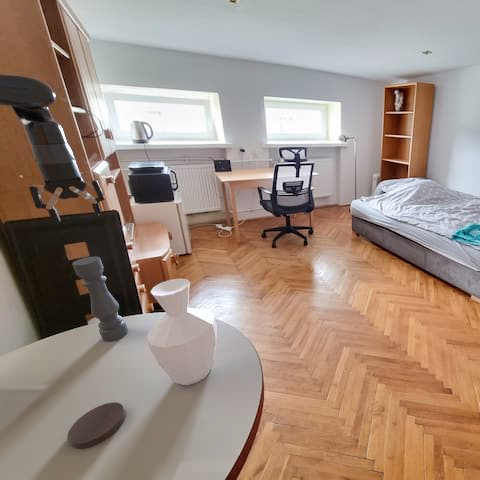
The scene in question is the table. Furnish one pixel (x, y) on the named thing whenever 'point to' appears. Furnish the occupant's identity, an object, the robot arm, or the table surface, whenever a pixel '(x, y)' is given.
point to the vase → (182, 334)
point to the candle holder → (101, 299)
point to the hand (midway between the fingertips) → (78, 218)
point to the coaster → (96, 425)
